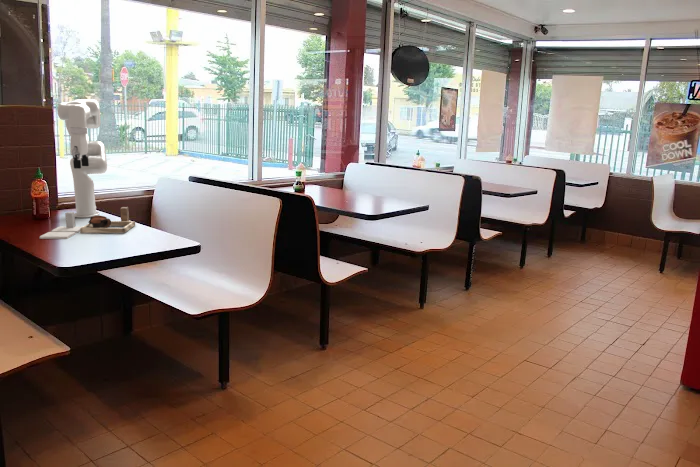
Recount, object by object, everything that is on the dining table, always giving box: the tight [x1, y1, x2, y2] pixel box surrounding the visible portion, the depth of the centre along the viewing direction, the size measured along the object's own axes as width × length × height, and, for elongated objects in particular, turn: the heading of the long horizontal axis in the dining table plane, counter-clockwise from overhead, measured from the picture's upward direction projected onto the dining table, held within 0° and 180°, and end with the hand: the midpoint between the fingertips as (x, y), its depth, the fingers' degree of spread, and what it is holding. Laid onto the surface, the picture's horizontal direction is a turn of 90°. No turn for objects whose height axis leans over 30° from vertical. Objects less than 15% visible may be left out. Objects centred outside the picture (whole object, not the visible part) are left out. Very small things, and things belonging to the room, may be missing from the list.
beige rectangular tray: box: [79, 206, 136, 234], centre depth 286 cm, size 24×20×8 cm
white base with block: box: [39, 211, 83, 240], centre depth 273 cm, size 21×12×8 cm, turn 3°
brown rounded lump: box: [87, 215, 112, 228], centre depth 281 cm, size 12×10×8 cm
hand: (81, 167), depth 287 cm, fingers open, 9 cm apart
